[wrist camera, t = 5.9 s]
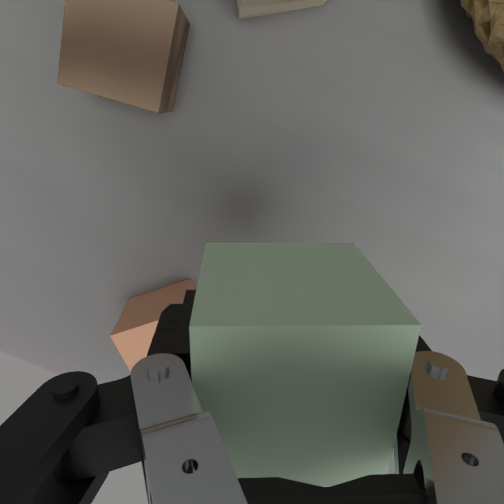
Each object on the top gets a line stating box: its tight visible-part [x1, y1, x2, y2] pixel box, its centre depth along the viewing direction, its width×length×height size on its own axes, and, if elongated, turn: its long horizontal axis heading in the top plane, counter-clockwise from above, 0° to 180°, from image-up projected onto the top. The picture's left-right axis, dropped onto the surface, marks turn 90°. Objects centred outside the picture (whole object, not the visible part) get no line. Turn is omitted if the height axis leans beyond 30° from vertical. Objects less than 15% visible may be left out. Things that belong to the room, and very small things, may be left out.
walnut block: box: [58, 0, 190, 113], centre depth 20 cm, size 5×5×5 cm
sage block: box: [189, 242, 421, 486], centre depth 11 cm, size 5×5×5 cm
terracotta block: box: [110, 279, 196, 372], centre depth 27 cm, size 5×5×5 cm
